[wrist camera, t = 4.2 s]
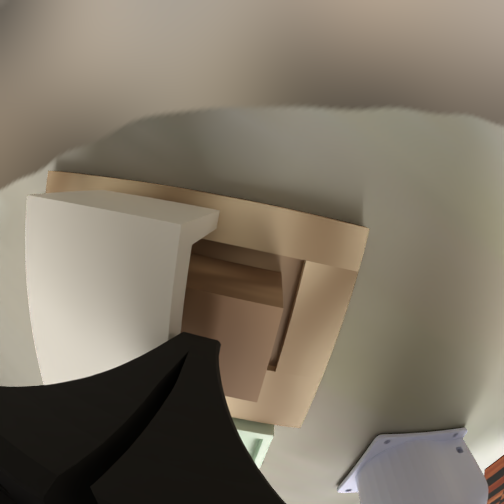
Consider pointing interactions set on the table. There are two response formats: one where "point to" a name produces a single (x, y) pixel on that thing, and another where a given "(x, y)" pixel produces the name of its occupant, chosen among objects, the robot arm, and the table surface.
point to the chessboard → (495, 482)
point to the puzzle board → (275, 259)
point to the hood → (106, 276)
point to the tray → (255, 437)
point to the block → (235, 318)
